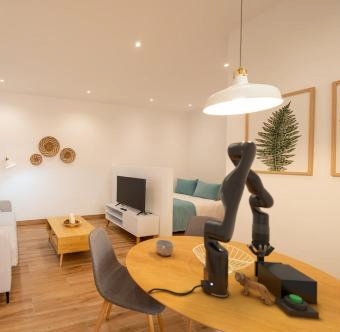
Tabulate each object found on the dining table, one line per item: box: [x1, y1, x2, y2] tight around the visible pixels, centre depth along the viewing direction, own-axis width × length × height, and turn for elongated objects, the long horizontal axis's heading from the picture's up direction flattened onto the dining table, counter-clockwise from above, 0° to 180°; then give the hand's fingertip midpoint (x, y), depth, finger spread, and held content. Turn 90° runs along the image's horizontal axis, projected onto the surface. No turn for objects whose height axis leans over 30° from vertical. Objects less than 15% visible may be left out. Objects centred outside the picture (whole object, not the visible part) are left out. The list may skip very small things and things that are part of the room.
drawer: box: [253, 260, 284, 278], centre depth 105 cm, size 19×12×8 cm, turn 172°
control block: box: [274, 295, 320, 319], centre depth 86 cm, size 10×8×4 cm
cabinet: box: [257, 263, 318, 305], centre depth 98 cm, size 16×14×10 cm
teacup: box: [155, 238, 175, 257], centre depth 138 cm, size 14×11×8 cm
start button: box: [290, 294, 302, 304], centre depth 86 cm, size 4×4×2 cm
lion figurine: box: [234, 270, 276, 305], centre depth 95 cm, size 15×5×9 cm, turn 39°
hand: (260, 263), depth 115 cm, fingers closed
